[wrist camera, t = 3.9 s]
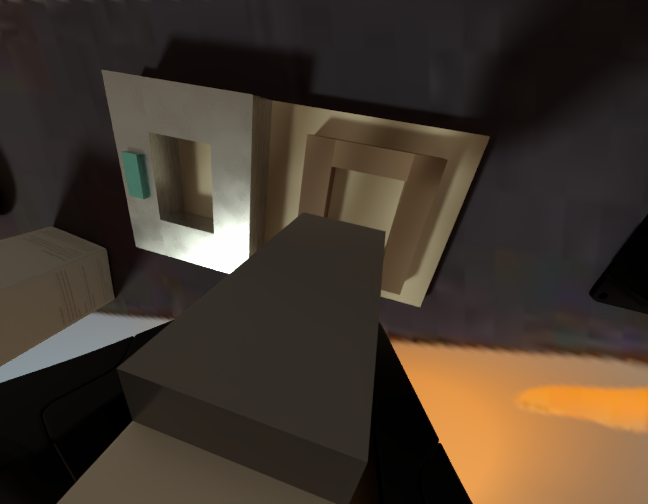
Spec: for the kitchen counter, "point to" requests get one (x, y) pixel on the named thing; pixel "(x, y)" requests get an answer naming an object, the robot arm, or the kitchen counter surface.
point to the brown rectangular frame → (384, 162)
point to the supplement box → (48, 286)
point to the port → (165, 171)
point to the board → (351, 179)
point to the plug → (256, 382)
